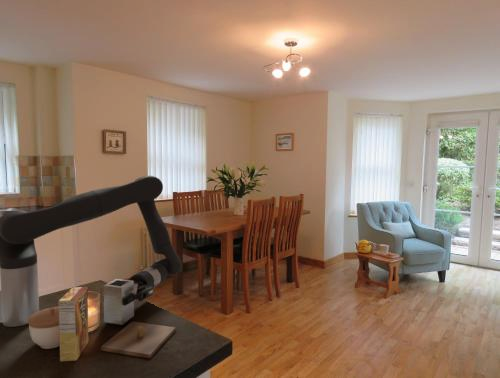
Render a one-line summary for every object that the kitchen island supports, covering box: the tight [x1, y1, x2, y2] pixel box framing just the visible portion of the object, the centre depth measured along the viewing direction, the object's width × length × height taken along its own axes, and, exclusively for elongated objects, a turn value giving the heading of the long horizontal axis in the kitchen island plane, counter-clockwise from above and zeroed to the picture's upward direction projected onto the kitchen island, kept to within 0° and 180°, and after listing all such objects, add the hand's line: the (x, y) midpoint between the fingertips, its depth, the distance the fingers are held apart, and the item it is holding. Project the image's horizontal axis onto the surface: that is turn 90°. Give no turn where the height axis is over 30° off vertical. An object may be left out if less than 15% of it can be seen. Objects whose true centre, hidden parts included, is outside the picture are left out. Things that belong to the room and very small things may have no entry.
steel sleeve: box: [103, 278, 135, 326], centre depth 99 cm, size 6×6×11 cm
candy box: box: [58, 286, 89, 363], centre depth 84 cm, size 9×4×15 cm, turn 9°
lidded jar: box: [27, 305, 60, 350], centre depth 88 cm, size 11×11×9 cm
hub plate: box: [100, 321, 177, 359], centre depth 90 cm, size 14×14×4 cm
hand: (114, 300), depth 97 cm, fingers closed on steel sleeve, 6 cm apart
